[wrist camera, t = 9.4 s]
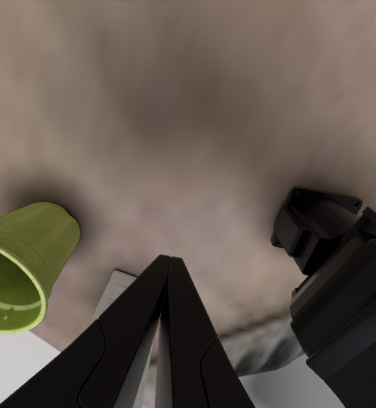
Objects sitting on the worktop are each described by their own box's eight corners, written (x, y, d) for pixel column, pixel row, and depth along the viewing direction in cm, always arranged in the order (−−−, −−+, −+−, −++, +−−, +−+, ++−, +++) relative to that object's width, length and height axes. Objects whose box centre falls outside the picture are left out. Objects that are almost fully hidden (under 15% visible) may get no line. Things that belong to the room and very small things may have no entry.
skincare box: (115, 267, 25) (11, 474, 11) (167, 286, 26) (132, 501, 12) (97, 311, 29) (-1, 514, 15) (144, 327, 30) (95, 532, 16)
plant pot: (19, 257, 25) (-61, 328, 18) (-5, 180, 21) (-122, 227, 14) (99, 265, 25) (55, 339, 18) (91, 190, 21) (29, 242, 14)
